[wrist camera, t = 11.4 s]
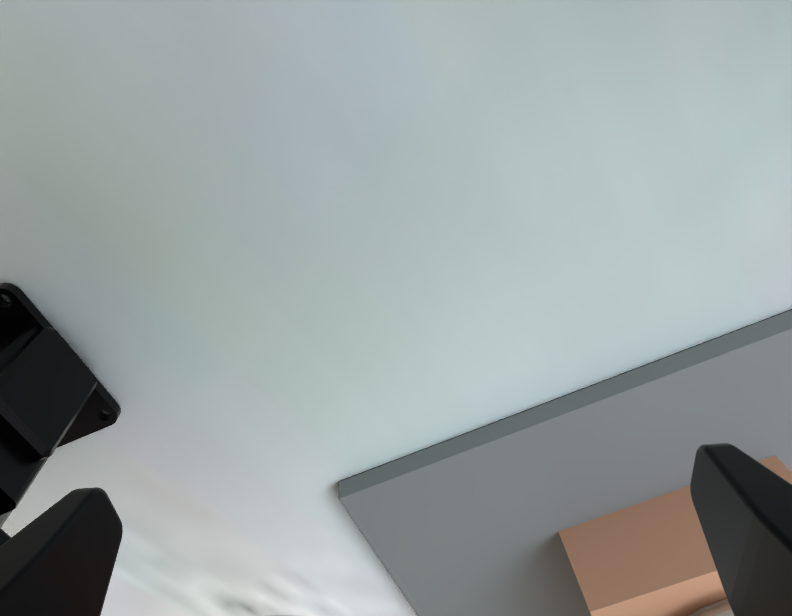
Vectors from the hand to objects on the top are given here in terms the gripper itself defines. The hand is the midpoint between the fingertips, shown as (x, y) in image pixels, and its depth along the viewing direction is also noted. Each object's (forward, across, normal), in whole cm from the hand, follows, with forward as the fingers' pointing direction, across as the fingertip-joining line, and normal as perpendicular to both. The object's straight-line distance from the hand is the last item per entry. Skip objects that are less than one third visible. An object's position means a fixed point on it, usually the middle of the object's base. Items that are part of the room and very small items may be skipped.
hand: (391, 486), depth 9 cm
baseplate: (+13, -9, +18) cm, 24 cm away
